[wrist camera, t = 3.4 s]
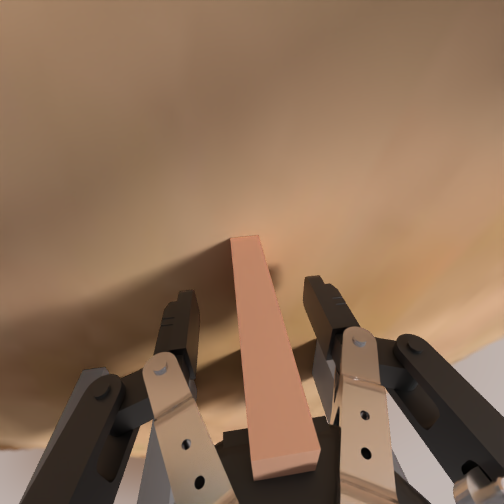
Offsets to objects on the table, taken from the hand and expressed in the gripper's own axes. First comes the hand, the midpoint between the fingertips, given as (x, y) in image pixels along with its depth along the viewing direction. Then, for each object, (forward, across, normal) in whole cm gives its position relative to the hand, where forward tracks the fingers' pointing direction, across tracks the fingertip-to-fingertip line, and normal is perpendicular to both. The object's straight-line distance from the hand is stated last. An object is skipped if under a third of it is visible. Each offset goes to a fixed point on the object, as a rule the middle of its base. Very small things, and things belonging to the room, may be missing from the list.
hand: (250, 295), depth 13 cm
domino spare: (+2, 0, 0) cm, 2 cm away
